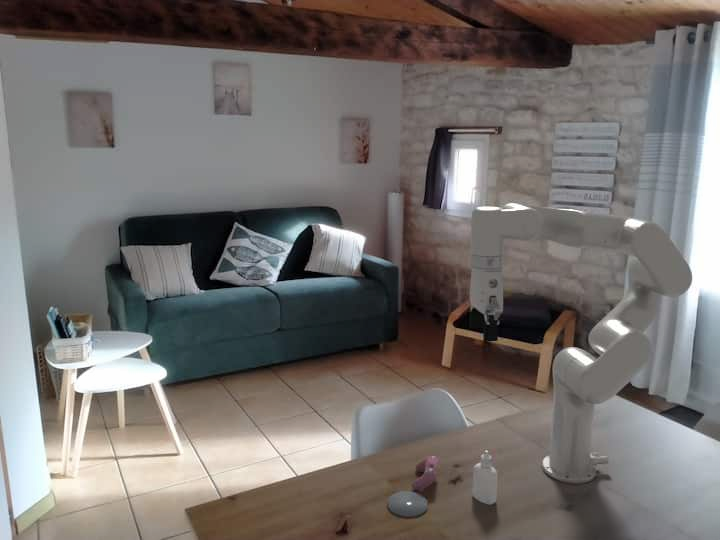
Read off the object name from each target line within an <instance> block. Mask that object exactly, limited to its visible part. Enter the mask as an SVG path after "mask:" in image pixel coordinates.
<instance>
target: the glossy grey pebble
mask: <svg viewBox="0 0 720 540" xmlns="http://www.w3.org/2000/svg"><path fill="white" fill-rule="evenodd" d="M387 507H388V510H390V512H391V513H393V514H395V515H398V516H400V517H404V518H414V517H415V518H416V517H419V516H421V515H423V514H424V513H425V512H426V511H427V509H428V507H429V506H428V500H427V499H426V497H425V496H423V495H422V494H420V493H418V492H414V491H409V490H407V491H406V490H404V491H403V490H402V491H398V492H394V493H393V494H392V495H389V497H388V499H387Z"/></svg>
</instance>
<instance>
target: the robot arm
mask: <svg viewBox="0 0 720 540" xmlns="http://www.w3.org/2000/svg"><path fill="white" fill-rule="evenodd" d="M470 221H471V225H470V243H469V244H470V245H469V246H470V247H469V269H471V275H470V286H469V302H470V305H469V328H470V329H482V328H483V332H482V333H483V336H482V338H483V342H497V341H498V339H499V337H498V336H499V324H500V319H501V317H500V316H501V314H502V313H503V311H504V278H503V272H502V271H503V270H504V264H505V263H504V261H505V244H506V243H505V242H506V240H511V241H512V240H513V241H518V242H529V241H533V240H535V239H543V240H546V241H551V242H554V243H558V244H561V245H562V246H567V247H570V248H571V247H572V248H575V249H583V250H593V251H602V252H603V251H604V252H611V253H616V254H617V253H618V254H625V255H628V256H630V257H632V258H631V259H630V261H629V263H628V266H627V280H628V281H627V290H626V293H625V295H624V297H623V298H622V299H621V300H620V302H618V304H617V305H616V306H615V307H614V308H613V309H611V310H610V311H609V312H608V313H607V315H605V316H604V317H603V318H602V319H601V320H599V322H597V324H595V326H593V328H592V329H591V330H590V332H589V335H588V339H587V340H588V344H589V346H590V347H591V348H592V350H594V351H595V352H596V353H597V354H598V355H599V356H598V357H595V356H594V355H593V354H591V353H589V352H588V351H586V350H584V349H582V348H579V347H576V346H575V347H574V346H571V347H569V346H568V347H565V348H563V349H561V350H560V351H559V352H558V353H557V354H556V356H555V358H554V359H553V362H552V382H553V404H552V414H551V415H552V416H551V417H552V418H551V428H550V429H551V430H550V442H549V455H547V456H546V457H544V458H543V460H542V463H541V464H542V465H541V467H542V470H543V472H545V473H546V474H547V475H548V476H550V477H551V478H553V479H555V480H557V481H560V482H563V483H569V484H585V483H589V482H590V481H593V480H594V479H595V476H596V468H595V467H596V466H597V465H608V464H609V457H608V456H607V455H600V456H599V453H598V452H597V451H596V452H591V451H592V439H593V427H594V417H595V409H596V407H595V406H596V405H599V404H600V405H601V404H604V403H606V402H607V401H609V400H610V399H612V398H613V397H614V396H615V395H617V394H618V393H619V392H620V391H621V390H622V389H624V387H625V386H627V384H629V383H630V382H631V381H632V380H633V379H635V377H637V375H638V374H640V373H641V371H642V370H644V368H645V367H646V365H647V364H648V363H649V360H650V359H651V356H652V350H653V347H652V346H653V345H652V343H651V340H650V338H649V337H648V336H647V335H646V334H645V333H644V332H645V331H647V329H648V328H649V327H650V326H651V325H652V324H653V323H654V321H656V319H657V317H658V315H659V313H660V309H661V304H662V303H661V302H662V296H664V297H667V298H668V297H669V298H675V297H679V296H682V295H684V294H686V292H687V291H688V290H689V289H690V288H691V286H692V284H693V273H692V272H693V271H692V269H691V267H690V266H689V263H688V261H686V259H685V258H684V256H683V255H682V254H681V252H680V251H679V249H678V248H677V247H676V245H675V243H674V241H672V239H671V238H670V237H669V235H668V234H667V233H666V232H665V230H664V229H663V228H662V227H661V226H660V225H659V224H657V223H656V222H653V221H650V220H645V219H641V218H637V217H633V216H631V217H630V216H626V215H625V216H624V215H617V214H607V213H600V212H592V211H586V210H577V209H565V208H553V207H546V206H539V205H538V206H537V205H531V204H522V203H514V202H513V203H507V204H504V205H502V206H501V207H498V206H478V207H476V208H473V210H472V212H471V220H470ZM484 322H485V323H484Z"/></svg>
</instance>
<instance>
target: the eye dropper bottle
mask: <svg viewBox="0 0 720 540" xmlns="http://www.w3.org/2000/svg"><path fill="white" fill-rule="evenodd" d="M492 458H493V457H492V455H490V453H489V451H488V450H484V453H483V454H482V455H480V462H479V463H476V464H475V465H474V466H473V471H472V473H473V474H472V475H473V476H472V491H471V493H472V496H473V497H474V499H475V500H476V501H477V502H480V503H482V504H486V505H489V506H491V505H494V504H495V503H496V502H497V497H498V496H497V495H498V478H499V475H498V471H497V470H496V468H495V467H494V466H492V461H493V460H492Z"/></svg>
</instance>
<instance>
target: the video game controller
mask: <svg viewBox="0 0 720 540" xmlns="http://www.w3.org/2000/svg"><path fill="white" fill-rule="evenodd" d="M439 461H440V458H439V457H437V456H435V455H432V454H431V455H428V456H427V457H426V458H425V459H422V460H421V461H419V462H418V463H417V464H416V465H415V470H416V471H417V472H418V473H423V474H422V475H421V476H420V477H418V478H417V479H415V480H414V481H413V482H412V483H411V488H412V490H414V491H422V490H423V489H424V490H425V489H426V488H428V487H429V486H431V485H432V484H433V483H434V482H437V481H438V476H437V474H438V471H437V469H438V464H439Z"/></svg>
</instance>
